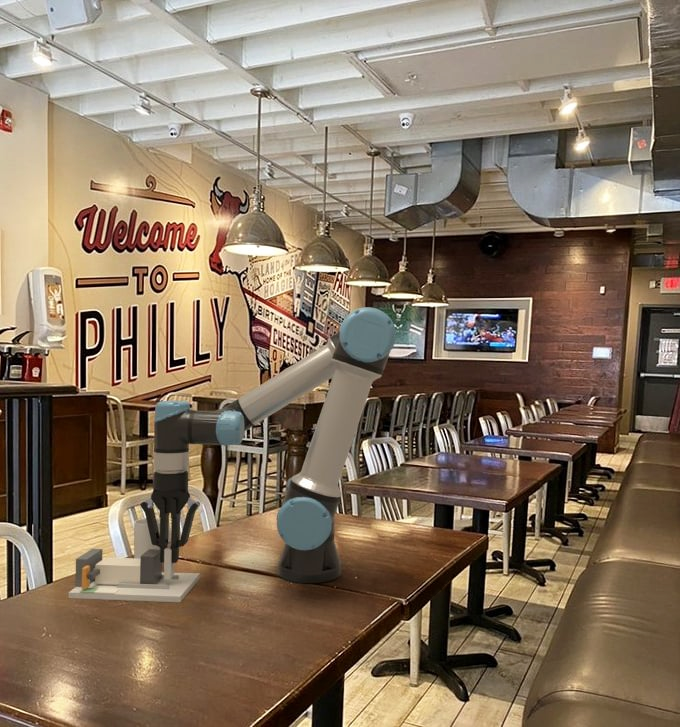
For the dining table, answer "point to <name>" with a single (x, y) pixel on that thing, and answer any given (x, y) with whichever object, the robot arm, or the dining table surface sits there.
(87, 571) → the needle
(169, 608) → the dining table surface
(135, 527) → the mug
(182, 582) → the base
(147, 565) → the beige and grey block
